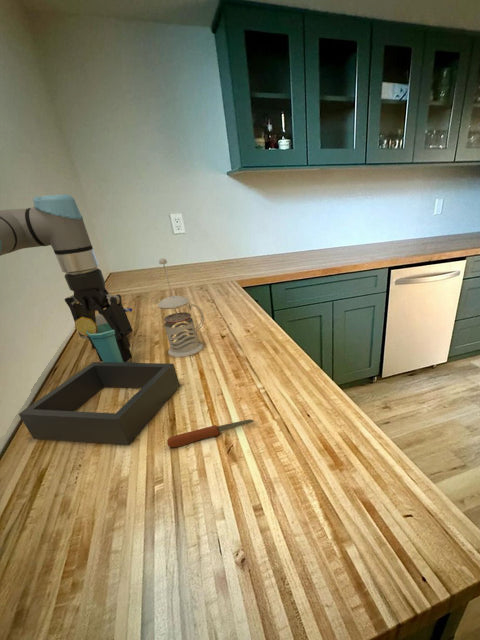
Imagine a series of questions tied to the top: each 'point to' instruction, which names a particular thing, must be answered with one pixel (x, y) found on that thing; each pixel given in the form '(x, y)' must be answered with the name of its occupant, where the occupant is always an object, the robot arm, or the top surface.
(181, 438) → the kitchen knife
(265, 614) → the top surface
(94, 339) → the cup
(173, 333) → the french press
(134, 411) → the frame
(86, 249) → the robot arm
